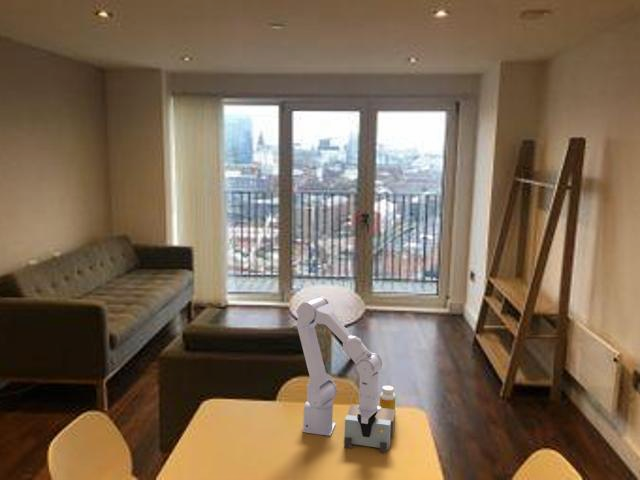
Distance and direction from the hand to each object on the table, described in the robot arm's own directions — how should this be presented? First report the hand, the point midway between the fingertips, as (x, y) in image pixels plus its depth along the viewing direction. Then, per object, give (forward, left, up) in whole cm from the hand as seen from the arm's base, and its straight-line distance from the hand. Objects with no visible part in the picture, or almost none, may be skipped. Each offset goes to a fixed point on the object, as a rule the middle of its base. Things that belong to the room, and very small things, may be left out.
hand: (367, 433), depth 173 cm
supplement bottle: (+4, +22, -4) cm, 23 cm away
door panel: (0, 0, -3) cm, 3 cm away
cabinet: (0, +5, -4) cm, 7 cm away
